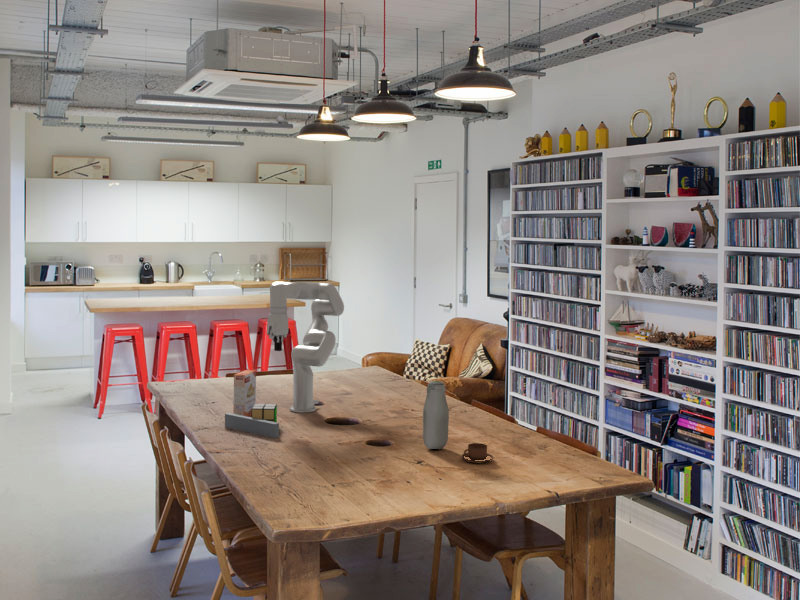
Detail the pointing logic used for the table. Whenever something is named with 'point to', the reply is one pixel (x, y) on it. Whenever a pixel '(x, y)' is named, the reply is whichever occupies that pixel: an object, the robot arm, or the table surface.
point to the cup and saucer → (476, 452)
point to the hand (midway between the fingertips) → (278, 350)
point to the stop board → (252, 425)
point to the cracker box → (244, 392)
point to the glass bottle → (435, 416)
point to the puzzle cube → (265, 412)
